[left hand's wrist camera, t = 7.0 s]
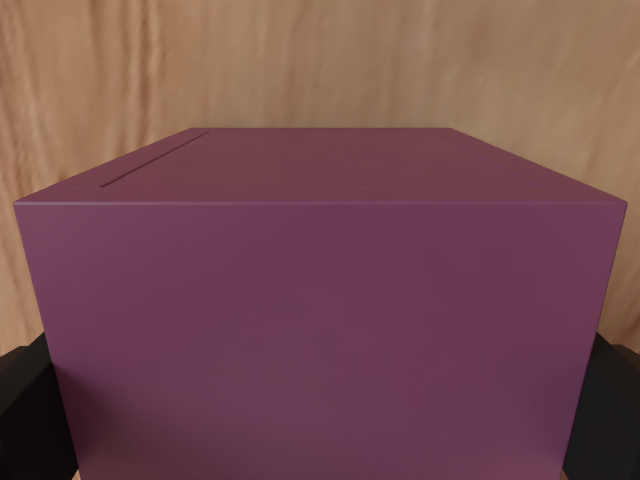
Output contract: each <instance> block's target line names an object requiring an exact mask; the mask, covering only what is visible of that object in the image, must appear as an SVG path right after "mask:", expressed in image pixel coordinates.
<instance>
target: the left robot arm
mask: <svg viewBox="0 0 640 480" xmlns="http://www.w3.org/2000/svg"><path fill="white" fill-rule="evenodd" d="M77 470H78V466H77V461H76V457H75V453H74V449H73V445H72V441H71V437H70V433H69V429H68V425H67V421H66V417H65V413H64V409H63V405H62V401H61V397H60V393H59V388H58V384H57V380H56V376H55V372H54V368H53V364H52V360H51V356H50V352H49V348H48V344H47V340H46V336H45V332H43V333H42V334H41V335H40V336H39V337H38V338H37V339H35V340H34V341H33V342H32V343H31V344H30V345H29V346H19V347H17V348H16V349H14V350H12V351H10V352H8V353H7V354H5V355H3V356H1V357H0V480H72V478H73V477H74V475H75V473H76V472H77ZM563 471H564V473H565V474H566V476H567V477H568V479H569V480H640V355H639V354H637V353H635V352H633V351H632V350H630V349H628V348H626V347H624V346H623V345H610V344H609V343H608V342H607V341H606V340H605V339H604V338H603V337H602V336H601V335H600V334H599V333H598V332H596V335H595V339H594V343H593V347H592V351H591V355H590V359H589V363H588V367H587V371H586V376H585V380H584V384H583V388H582V392H581V396H580V400H579V404H578V408H577V412H576V416H575V420H574V424H573V428H572V432H571V436H570V440H569V444H568V449H567V453H566V457H565V461H564V465H563Z"/></svg>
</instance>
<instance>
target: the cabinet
mask: <svg viewBox="0 0 640 480" xmlns="http://www.w3.org/2000/svg"><path fill="white" fill-rule="evenodd" d="M13 206H14V210H15V214H16V218H17V222H18V226H19V230H20V234H21V238H22V242H23V246H24V251H25V255H26V259H27V263H28V267H29V271H30V275H31V279H32V283H33V287H34V291H35V295H36V299H37V303H38V307H39V311H40V315H41V320H42V324H43V328H44V332H45V336H46V340H47V344H48V348H49V352H50V356H51V360H52V364H53V368H54V372H55V376H56V380H57V384H58V388H59V393H60V397H61V401H62V405H63V409H64V413H65V417H66V421H67V425H68V429H69V433H70V437H71V441H72V445H73V449H74V453H75V457H76V461H77V466H78V470H79V474H80V478H81V480H560V477H561V473H562V469H563V465H564V461H565V457H566V453H567V449H568V444H569V440H570V436H571V432H572V428H573V424H574V420H575V416H576V412H577V408H578V404H579V400H580V396H581V392H582V388H583V384H584V380H585V376H586V371H587V367H588V363H589V359H590V355H591V351H592V347H593V343H594V339H595V335H596V331H597V327H598V323H599V319H600V315H601V311H602V307H603V303H604V298H605V294H606V290H607V286H608V282H609V278H610V274H611V270H612V266H613V262H614V258H615V254H616V250H617V246H618V242H619V238H620V234H621V230H622V225H623V221H624V217H625V213H626V209H627V202H626V201H624V200H622V199H620V198H617V197H615V196H612V195H610V194H608V193H605V192H603V191H600V190H598V189H596V188H593V187H591V186H589V185H586V184H584V183H581V182H579V181H577V180H574V179H572V178H569V177H567V176H565V175H562V174H560V173H557V172H555V171H553V170H550V169H548V168H545V167H543V166H541V165H538V164H536V163H533V162H531V161H529V160H526V159H524V158H522V157H519V156H517V155H514V154H512V153H510V152H507V151H505V150H502V149H500V148H498V147H495V146H493V145H490V144H488V143H486V142H483V141H481V140H478V139H476V138H474V137H471V136H469V135H466V134H464V133H462V132H459V131H456V130H454V129H452V128H190V129H187V130H185V131H182V132H179V133H177V134H174V135H172V136H169V137H167V138H165V139H162V140H160V141H157V142H155V143H153V144H150V145H148V146H145V147H143V148H141V149H138V150H136V151H133V152H131V153H128V154H126V155H124V156H121V157H119V158H116V159H114V160H112V161H109V162H107V163H104V164H102V165H100V166H97V167H95V168H92V169H90V170H88V171H85V172H83V173H80V174H78V175H75V176H73V177H71V178H68V179H66V180H63V181H61V182H59V183H56V184H54V185H51V186H49V187H47V188H45V189H43V190H40V191H38V192H35V193H33V194H31V195H28V196H26V197H23V198H21V199H19V200H16V201H14V204H13Z"/></svg>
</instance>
